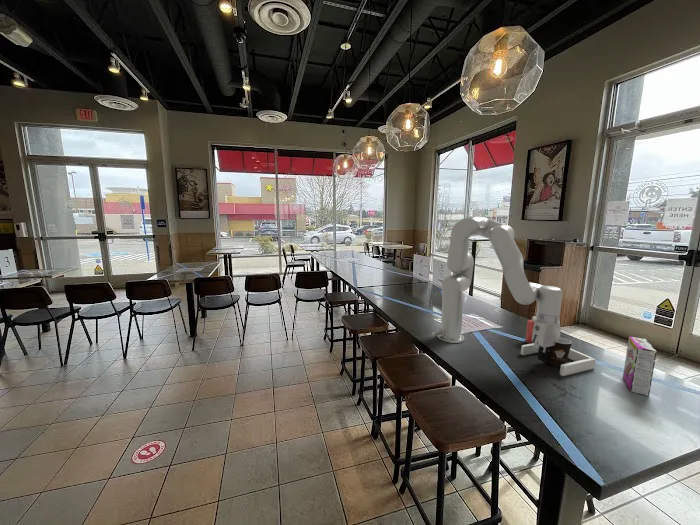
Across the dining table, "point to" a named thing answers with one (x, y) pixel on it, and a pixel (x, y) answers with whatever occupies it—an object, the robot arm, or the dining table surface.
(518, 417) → the dining table surface
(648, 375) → the candy bar box
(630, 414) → the dining table surface
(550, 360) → the coffee mug
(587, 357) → the open u-shaped frame
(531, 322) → the squeeze bottle
